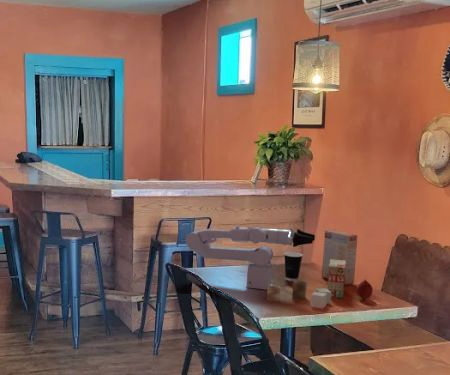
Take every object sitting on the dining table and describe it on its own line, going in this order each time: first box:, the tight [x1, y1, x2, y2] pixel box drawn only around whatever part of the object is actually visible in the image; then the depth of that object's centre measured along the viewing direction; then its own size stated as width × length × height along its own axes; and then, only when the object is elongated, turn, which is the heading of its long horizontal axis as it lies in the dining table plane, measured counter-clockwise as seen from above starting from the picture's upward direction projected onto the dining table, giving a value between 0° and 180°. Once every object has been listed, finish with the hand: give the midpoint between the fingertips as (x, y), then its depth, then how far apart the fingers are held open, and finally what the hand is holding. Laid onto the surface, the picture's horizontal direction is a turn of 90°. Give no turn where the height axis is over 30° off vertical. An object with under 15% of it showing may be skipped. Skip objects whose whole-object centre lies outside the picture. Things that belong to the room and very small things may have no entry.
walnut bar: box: [291, 280, 307, 301], centre depth 231 cm, size 4×4×6 cm
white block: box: [310, 291, 327, 309], centre depth 223 cm, size 4×4×4 cm
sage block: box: [314, 288, 332, 305], centre depth 228 cm, size 4×4×4 cm
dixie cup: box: [283, 251, 304, 282], centre depth 259 cm, size 8×8×11 cm
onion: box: [356, 278, 373, 301], centre depth 234 cm, size 6×6×8 cm
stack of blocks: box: [326, 259, 346, 299], centre depth 245 cm, size 21×6×12 cm, turn 168°
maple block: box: [266, 285, 281, 302], centre depth 229 cm, size 4×4×4 cm
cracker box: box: [321, 229, 358, 286], centre depth 260 cm, size 14×6×21 cm, turn 34°
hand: (313, 239), depth 238 cm, fingers open, 7 cm apart
